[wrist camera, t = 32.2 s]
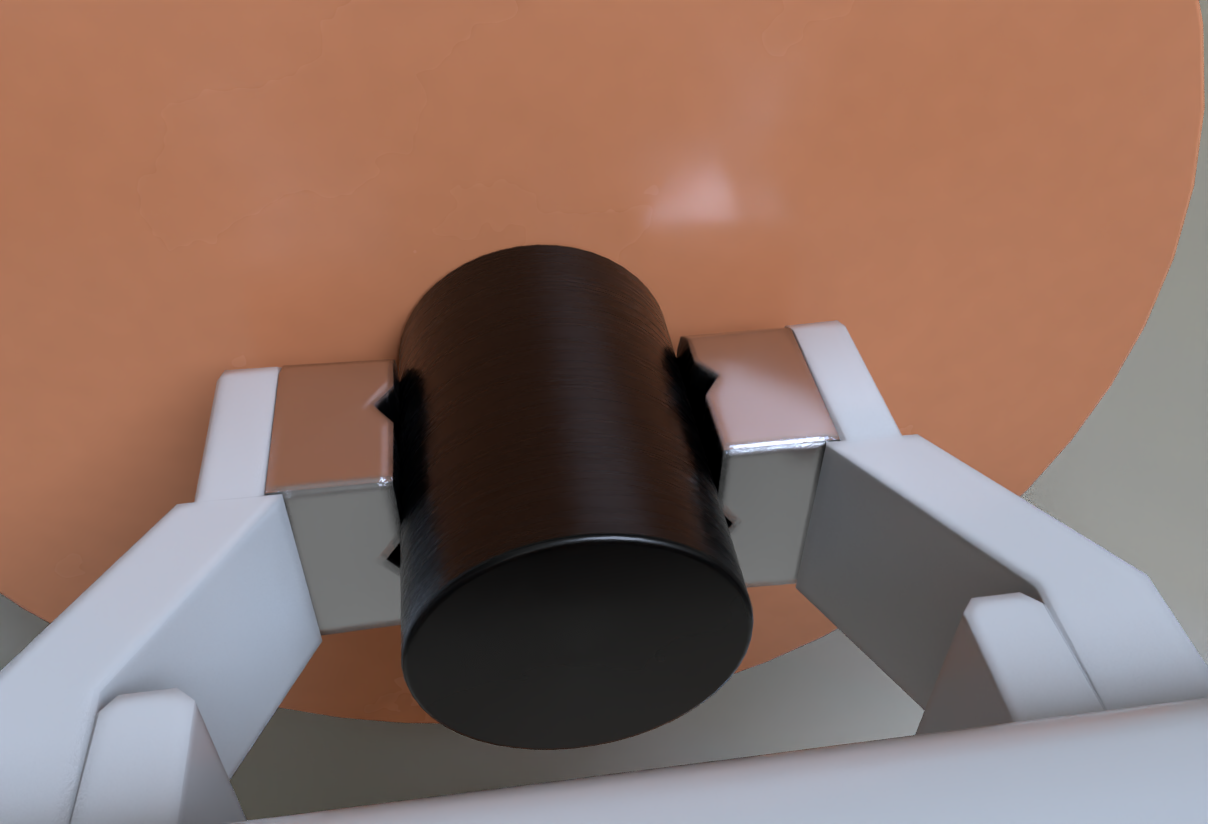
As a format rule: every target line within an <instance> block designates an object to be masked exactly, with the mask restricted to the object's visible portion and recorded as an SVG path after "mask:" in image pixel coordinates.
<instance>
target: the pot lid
mask: <svg viewBox="0 0 1208 824" xmlns="http://www.w3.org/2000/svg"><path fill="white" fill-rule="evenodd" d="M1204 108H1205V107H1204V46H1203V21H1202V15H1201V9H1200V4H1199V0H0V593H1V594H2V595H4V596H5V597H7V598H8V599H9V600H11V601H12V602H14V603H15V604H17V605H18V606H20V607H21V608H23V609H25V610H26V611H28V612H30V613H32V614H34V615H35V616H37V617H39V618H41V619H43V620H44V621H46V622H48V623H51V622H52V621H54V620H55V619H56V618H57V617H58V616H59V615H60V614H61V613H62V612H63V611H64V610H65V609H66V608H67V607H68V606H69V605H70V604H72V603H73V602H74V601H75V600H76V599H77V598H78V597H79V596H80V595H81V594H82V593H83V592H84V591H85V590H86V589H87V588H88V587H89V586H91V585H92V584H93V583H94V582H95V581H96V580H97V579H98V578H99V577H100V576H101V575H102V574H103V573H104V572H105V571H106V570H107V569H108V568H110V567H111V566H112V565H113V564H114V563H115V562H116V561H117V560H118V559H119V558H120V557H121V556H122V555H123V554H124V553H125V552H126V551H128V550H129V549H130V548H131V547H132V546H133V545H134V544H135V543H136V542H137V541H138V540H139V539H140V538H141V537H142V536H143V535H144V534H145V533H147V532H148V531H149V530H150V529H151V528H152V527H153V526H154V525H155V524H156V523H157V522H158V521H159V520H160V519H161V518H162V517H163V516H164V515H166V514H167V513H168V512H169V511H170V510H171V509H172V508H173V507H174V506H175V505H176V504H183V503H192V502H194V500H195V494H196V489H197V484H198V479H199V473H200V468H201V463H202V457H203V452H204V447H205V442H206V436H207V431H208V426H209V420H210V415H211V410H212V404H213V399H214V394H215V389H216V383H217V380H218V379H219V378H220V376H221V375H222V373H223V372H224V370H234V369H249V368H263V367H283V366H284V365H301V364H318V363H335V362H352V361H368V360H385V359H395V362H396V365H397V369H398V375H399V381H400V436H399V442H400V465H401V528H400V588H401V625H396V626H388V627H381V628H373V629H366V630H359V631H351V632H344V633H337V634H329V635H322V636H321V638H322V642H321V644H320V645H319V647H318V648H317V650H316V651H315V653H314V654H313V656H312V657H311V659H310V660H309V662H308V663H307V665H306V666H305V668H304V669H303V671H302V672H301V674H300V675H299V677H298V678H297V680H296V681H295V683H294V684H293V686H292V687H291V689H290V690H289V692H288V693H287V695H286V696H285V698H284V699H283V701H282V702H281V704H280V705H279V707H278V708H284V709H290V710H296V711H302V712H308V713H314V714H321V715H327V716H333V717H339V718H350V719H362V720H373V721H385V722H397V723H440V724H442V725H444V726H445V727H447V728H449V729H451V730H453V731H455V732H457V733H459V734H461V735H464V736H467V737H469V738H472V739H475V740H478V741H482V742H486V743H490V744H494V745H499V746H505V747H511V748H521V749H534V750H556V749H571V748H580V747H588V746H595V745H600V744H605V743H610V742H614V741H618V740H622V739H625V738H629V737H633V736H636V735H639V734H642V733H644V732H647V731H650V730H653V729H655V728H657V727H660V726H662V725H664V724H667V723H669V722H671V721H673V720H675V719H677V718H679V717H680V716H682V715H684V714H686V713H688V712H689V711H691V710H693V709H694V708H696V707H697V706H699V705H700V704H702V703H703V702H705V701H706V700H707V699H708V698H709V697H711V696H712V695H713V694H714V693H716V692H717V691H718V690H719V689H720V688H721V687H722V686H723V685H724V684H725V683H726V682H727V681H728V680H729V679H730V678H731V676H732V675H733V674H735V673H738V672H740V671H743V670H746V669H749V668H751V667H754V666H757V665H760V664H763V663H765V662H768V661H770V660H772V659H774V658H777V657H779V656H781V655H783V654H786V653H788V652H790V651H792V650H795V649H797V648H799V647H801V646H803V645H806V644H808V643H810V642H812V641H815V640H817V639H819V638H821V637H823V636H825V635H827V634H829V633H831V632H833V631H834V630H836V629H838V628H837V627H836V626H835V625H834V624H833V623H832V622H831V621H830V620H829V619H828V618H827V617H826V616H825V615H824V614H823V613H822V612H821V611H819V610H818V609H817V608H816V607H815V606H814V605H813V604H812V603H811V602H810V601H809V600H808V599H807V598H806V597H805V596H804V595H803V594H802V593H800V592H799V591H798V590H797V589H796V588H795V587H796V584H785V585H773V586H761V587H749V588H746V584H745V581H744V578H743V574H742V571H741V568H740V565H739V561H738V558H737V555H736V552H735V548H734V545H733V542H732V538H731V535H730V532H729V529H728V525H727V522H726V519H725V516H724V512H723V509H722V506H721V502H720V499H719V496H718V493H717V489H716V486H715V483H714V480H713V476H712V473H711V470H710V466H709V463H708V460H707V457H706V453H705V450H704V447H703V444H702V440H701V437H700V434H699V430H698V427H697V424H696V421H695V417H694V414H693V411H692V408H691V404H690V401H689V398H688V394H687V391H686V388H685V385H684V381H683V378H682V375H681V372H680V368H679V365H678V362H677V358H676V357H677V348H678V344H679V340H680V337H681V336H689V335H700V334H712V333H723V332H735V331H746V330H758V329H769V328H785V326H787V325H796V324H806V323H815V322H825V321H834V320H837V321H839V322H840V323H842V324H843V325H845V326H846V328H847V330H848V332H849V334H850V336H851V338H852V340H853V342H854V344H855V345H856V347H857V349H858V351H859V353H860V355H861V357H862V359H863V361H864V363H865V365H866V367H867V369H868V370H869V372H870V374H871V376H872V378H873V380H874V382H875V384H876V386H877V388H878V390H879V392H880V394H881V396H882V397H883V399H884V401H885V403H886V405H887V407H888V409H889V411H890V413H891V415H892V417H893V419H894V421H895V423H896V424H897V426H898V428H899V430H900V432H901V434H902V435H914V434H918V435H920V436H921V437H923V438H924V439H926V440H928V441H929V442H931V443H933V444H934V445H936V446H938V447H939V448H941V449H942V450H944V451H946V452H947V453H949V454H951V455H952V456H954V457H956V458H957V459H959V460H960V461H962V462H964V463H965V464H967V465H969V466H970V467H972V468H973V469H975V470H977V471H978V472H980V473H982V474H983V475H985V476H987V477H988V478H990V479H991V480H993V481H995V482H996V483H998V484H1000V485H1001V486H1003V487H1004V488H1006V489H1008V490H1009V491H1011V492H1013V493H1014V494H1016V495H1018V496H1019V497H1020V496H1021V495H1022V494H1024V493H1025V492H1026V491H1027V490H1028V489H1029V487H1030V486H1031V485H1032V484H1033V483H1034V482H1035V481H1036V480H1037V478H1038V477H1039V476H1040V475H1041V474H1042V473H1043V472H1044V471H1045V469H1046V468H1047V467H1048V466H1049V465H1050V464H1051V463H1052V462H1053V461H1054V459H1055V458H1056V457H1057V456H1058V455H1059V454H1060V453H1061V452H1062V450H1063V449H1064V448H1065V447H1066V446H1067V445H1068V444H1069V443H1070V441H1071V440H1072V439H1073V437H1074V436H1075V435H1076V433H1077V432H1078V431H1079V429H1080V428H1081V426H1082V425H1083V424H1084V422H1085V421H1086V420H1087V418H1088V417H1089V415H1090V414H1091V413H1092V411H1093V410H1094V408H1095V407H1096V406H1097V404H1098V403H1099V402H1100V400H1101V399H1102V397H1103V396H1104V395H1105V393H1106V392H1107V391H1108V389H1109V388H1110V386H1111V385H1112V383H1113V381H1114V380H1115V378H1116V376H1117V374H1118V373H1119V371H1120V369H1121V367H1122V366H1123V364H1124V362H1125V360H1126V359H1127V357H1128V355H1129V353H1130V352H1131V350H1132V348H1133V346H1134V344H1135V343H1136V341H1137V339H1138V337H1139V336H1140V334H1141V332H1142V330H1143V329H1144V327H1145V325H1146V323H1147V320H1148V318H1149V316H1150V313H1151V311H1152V309H1153V306H1154V304H1155V302H1156V299H1157V297H1158V294H1159V292H1160V290H1161V287H1162V285H1163V283H1164V280H1165V278H1166V276H1167V273H1168V271H1169V268H1170V266H1171V264H1172V261H1173V259H1174V256H1175V252H1176V249H1177V245H1178V241H1179V238H1180V234H1181V231H1182V227H1183V224H1184V220H1185V216H1186V213H1187V209H1188V206H1189V202H1190V198H1191V195H1192V191H1193V188H1194V182H1195V175H1196V167H1197V160H1198V152H1199V145H1200V138H1201V130H1202V123H1203V115H1204Z"/></svg>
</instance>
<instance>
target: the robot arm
mask: <svg viewBox="0 0 1208 824" xmlns="http://www.w3.org/2000/svg"><path fill="white" fill-rule="evenodd" d="M676 358H677V362H678V365H679V368H680V372H681V375H682V378H683V381H684V385H685V388H686V391H687V394H688V398H689V401H690V404H691V408H692V411H693V414H694V417H695V421H696V424H697V427H698V430H699V434H700V437H701V440H702V444H703V447H704V450H705V453H706V457H707V460H708V463H709V466H710V470H711V473H712V476H713V480H714V483H715V486H716V489H717V493H718V496H719V499H720V502H721V506H722V509H723V512H724V516H725V519H726V522H727V525H728V529H729V532H730V535H731V538H732V542H733V545H734V548H735V552H736V555H737V558H738V561H739V565H740V568H741V571H742V574H743V578H744V581H745V584H746V588H749V587H761V586H773V585H785V584H796V587H795V588H796V589H797V590H798V591H799V592H800V593H802V594H803V595H804V596H805V597H806V598H807V599H808V600H809V601H810V602H811V603H812V604H813V605H814V606H815V607H816V608H817V609H818V610H819V611H821V612H822V613H823V614H824V615H825V616H826V617H827V618H828V619H829V620H830V621H831V622H832V623H833V624H834V625H835V626H836V627H837V628H838V629H839V630H841V631H842V632H843V633H844V634H845V635H846V636H847V637H848V638H849V639H850V640H851V641H852V642H853V643H854V644H855V645H856V646H857V647H858V648H860V649H861V650H862V651H863V652H864V653H865V654H866V655H867V656H868V657H869V658H870V659H871V660H872V661H873V662H874V663H875V664H876V665H877V666H878V667H880V668H881V669H882V670H883V671H884V672H885V673H886V674H887V675H888V676H889V677H890V678H891V679H892V680H893V681H894V682H895V683H896V684H897V685H899V686H900V687H901V688H902V689H903V690H904V691H905V692H906V693H907V694H908V695H909V696H910V697H911V698H912V699H913V700H914V701H915V702H916V703H918V704H919V705H920V706H921V707H922V708H923V709H924V710H925V711H924V714H923V716H922V719H921V721H920V724H919V726H918V729H917V732H916V734H915V735H913V736H905V737H897V738H890V739H882V740H874V741H866V742H859V743H851V744H843V745H836V746H828V747H820V748H812V749H805V750H797V751H789V752H782V753H774V754H766V755H758V756H751V757H743V758H735V759H727V760H719V761H711V762H703V763H696V764H688V765H680V766H672V767H664V768H656V769H648V770H640V771H633V772H625V773H617V774H609V775H601V776H593V777H585V778H578V779H570V780H562V781H554V782H546V783H538V784H530V785H522V786H515V787H507V788H499V789H491V790H483V791H475V792H467V793H459V794H452V795H444V796H436V797H428V798H420V799H412V800H404V801H397V802H389V803H381V804H373V805H365V806H357V807H350V808H342V809H334V810H326V811H318V812H310V813H303V814H295V815H287V816H279V817H271V818H264V819H256V820H248V821H247V819H246V817H245V815H244V812H243V810H242V808H241V806H240V803H239V801H238V799H237V796H236V794H235V792H234V789H233V787H232V785H231V782H230V779H231V778H232V776H233V775H234V773H235V771H236V770H237V768H238V767H239V765H240V764H241V762H242V761H243V759H244V758H245V756H246V755H247V753H248V752H249V750H250V749H251V747H252V746H253V744H254V743H255V741H256V740H257V738H258V737H259V735H260V734H261V732H262V731H263V729H264V728H265V726H266V725H267V723H268V722H269V720H270V719H271V717H272V716H273V714H274V713H275V711H276V710H277V708H278V707H279V705H280V704H281V702H282V701H283V699H284V698H285V696H286V695H287V693H288V692H289V690H290V689H291V687H292V686H293V684H294V683H295V681H296V680H297V678H298V677H299V675H300V674H301V672H302V671H303V669H304V668H305V666H306V665H307V663H308V662H309V660H310V659H311V657H312V656H313V654H314V653H315V651H316V650H317V648H318V647H319V645H320V644H321V642H322V638H321V636H322V635H329V634H337V633H344V632H351V631H359V630H366V629H373V628H381V627H388V626H396V625H401V588H400V528H401V465H400V442H399V436H400V381H399V375H398V369H397V365H396V362H395V359H385V360H368V361H352V362H335V363H318V364H301V365H284V366H283V367H263V368H249V369H234V370H224V372H223V373H222V375H221V376H220V378H219V379H218V380H217V383H216V389H215V394H214V399H213V404H212V410H211V415H210V420H209V426H208V431H207V436H206V442H205V447H204V452H203V457H202V463H201V468H200V473H199V479H198V484H197V489H196V494H195V500H194V502H192V503H183V504H176V505H175V506H174V507H173V508H172V509H171V510H170V511H169V512H168V513H167V514H166V515H164V516H163V517H162V518H161V519H160V520H159V521H158V522H157V523H156V524H155V525H154V526H153V527H152V528H151V529H150V530H149V531H148V532H147V533H145V534H144V535H143V536H142V537H141V538H140V539H139V540H138V541H137V542H136V543H135V544H134V545H133V546H132V547H131V548H130V549H129V550H128V551H126V552H125V553H124V554H123V555H122V556H121V557H120V558H119V559H118V560H117V561H116V562H115V563H114V564H113V565H112V566H111V567H110V568H108V569H107V570H106V571H105V572H104V573H103V574H102V575H101V576H100V577H99V578H98V579H97V580H96V581H95V582H94V583H93V584H92V585H91V586H89V587H88V588H87V589H86V590H85V591H84V592H83V593H82V594H81V595H80V596H79V597H78V598H77V599H76V600H75V601H74V602H73V603H72V604H70V605H69V606H68V607H67V608H66V609H65V610H64V611H63V612H62V613H61V614H60V615H59V616H58V617H57V618H56V619H55V620H54V621H52V622H51V623H50V624H49V625H48V626H47V627H46V628H45V629H44V630H43V631H42V632H41V633H40V634H39V635H38V636H37V637H36V638H35V639H33V640H32V641H31V642H30V643H29V644H28V645H27V646H26V647H25V648H24V649H23V650H22V651H21V652H20V653H19V654H18V655H17V656H16V657H14V658H13V659H12V660H11V661H10V662H9V663H8V664H7V665H6V666H5V667H4V668H3V669H2V670H1V671H0V824H1208V666H1207V665H1206V663H1205V662H1204V660H1203V659H1202V657H1201V656H1200V654H1199V653H1198V651H1197V650H1196V648H1195V647H1194V645H1193V643H1192V642H1191V640H1190V639H1189V637H1188V636H1187V634H1186V633H1185V631H1184V630H1183V628H1182V627H1181V625H1180V624H1179V622H1178V621H1177V619H1176V618H1175V616H1174V615H1173V613H1172V612H1171V610H1170V609H1169V607H1168V606H1167V604H1166V602H1165V601H1164V599H1163V598H1162V596H1161V595H1160V593H1159V592H1158V590H1157V589H1156V587H1155V586H1154V584H1153V583H1152V581H1151V580H1150V578H1149V577H1148V575H1146V574H1145V573H1143V572H1142V571H1140V570H1138V569H1137V568H1135V567H1133V566H1132V565H1130V564H1129V563H1127V562H1125V561H1124V560H1122V559H1120V558H1119V557H1117V556H1115V555H1114V554H1112V553H1111V552H1109V551H1107V550H1106V549H1104V548H1102V547H1101V546H1099V545H1098V544H1096V543H1094V542H1093V541H1091V540H1089V539H1088V538H1086V537H1084V536H1083V535H1081V534H1080V533H1078V532H1076V531H1075V530H1073V529H1071V528H1070V527H1068V526H1066V525H1065V524H1063V523H1062V522H1060V521H1058V520H1057V519H1055V518H1053V517H1052V516H1050V515H1049V514H1047V513H1045V512H1044V511H1042V510H1040V509H1039V508H1037V507H1035V506H1034V505H1032V504H1031V503H1029V502H1027V501H1026V500H1024V499H1022V498H1021V497H1019V496H1018V495H1016V494H1014V493H1013V492H1011V491H1009V490H1008V489H1006V488H1004V487H1003V486H1001V485H1000V484H998V483H996V482H995V481H993V480H991V479H990V478H988V477H987V476H985V475H983V474H982V473H980V472H978V471H977V470H975V469H973V468H972V467H970V466H969V465H967V464H965V463H964V462H962V461H960V460H959V459H957V458H956V457H954V456H952V455H951V454H949V453H947V452H946V451H944V450H942V449H941V448H939V447H938V446H936V445H934V444H933V443H931V442H929V441H928V440H926V439H924V438H923V437H921V436H920V435H918V434H914V435H902V434H901V432H900V430H899V428H898V426H897V424H896V423H895V421H894V419H893V417H892V415H891V413H890V411H889V409H888V407H887V405H886V403H885V401H884V399H883V397H882V396H881V394H880V392H879V390H878V388H877V386H876V384H875V382H874V380H873V378H872V376H871V374H870V372H869V370H868V369H867V367H866V365H865V363H864V361H863V359H862V357H861V355H860V353H859V351H858V349H857V347H856V345H855V344H854V342H853V340H852V338H851V336H850V334H849V332H848V330H847V328H846V326H845V325H843V324H842V323H840V322H839V321H837V320H834V321H825V322H815V323H806V324H796V325H787V326H785V328H769V329H758V330H746V331H735V332H723V333H712V334H700V335H689V336H681V337H680V340H679V344H678V348H677V357H676Z"/></svg>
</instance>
